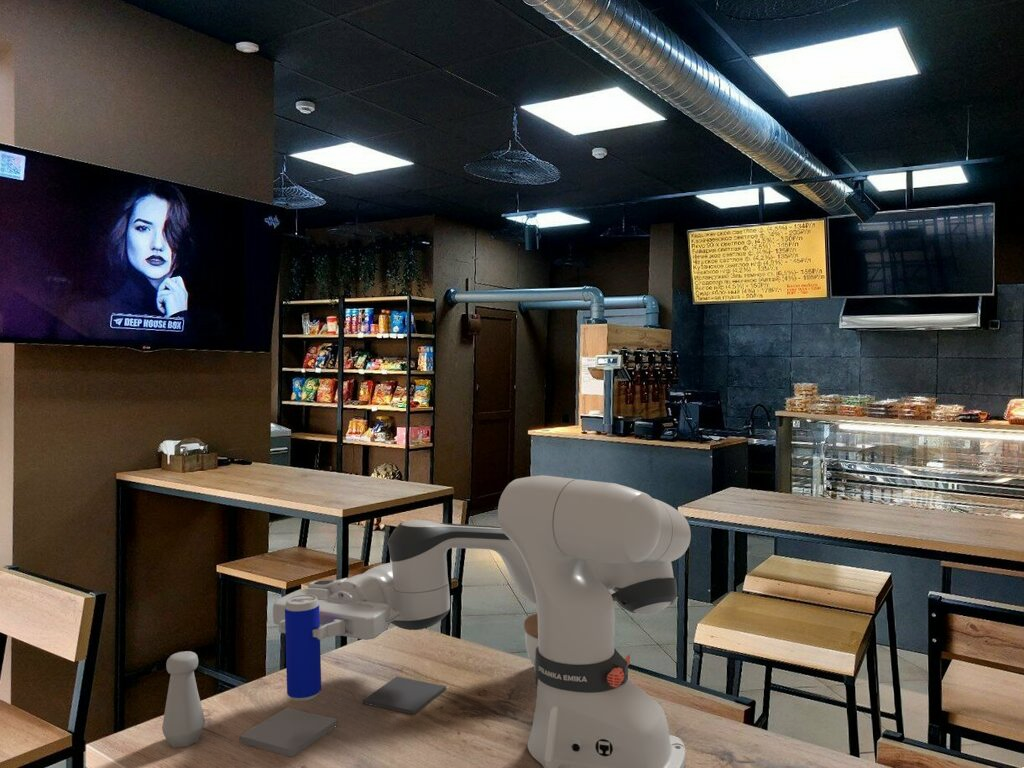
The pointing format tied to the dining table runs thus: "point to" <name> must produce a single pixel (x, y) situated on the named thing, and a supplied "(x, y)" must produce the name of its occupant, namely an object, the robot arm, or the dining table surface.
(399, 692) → the rubber mat
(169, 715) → the salt shaker
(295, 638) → the beverage can
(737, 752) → the dining table surface
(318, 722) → the ceramic tile
